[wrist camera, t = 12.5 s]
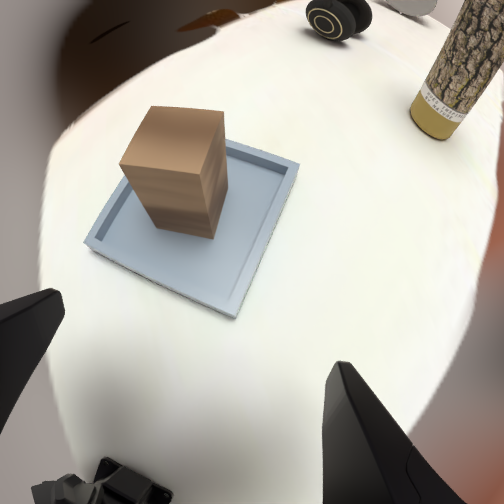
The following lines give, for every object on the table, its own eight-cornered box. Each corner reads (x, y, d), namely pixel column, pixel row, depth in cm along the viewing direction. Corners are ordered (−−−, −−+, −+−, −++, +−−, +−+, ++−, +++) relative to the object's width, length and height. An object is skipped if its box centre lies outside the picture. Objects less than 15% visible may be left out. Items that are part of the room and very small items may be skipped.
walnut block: (213, 239, 23) (199, 174, 15) (156, 228, 23) (118, 163, 15) (228, 187, 25) (223, 111, 16) (174, 179, 25) (151, 105, 17)
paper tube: (455, 145, 30) (546, 14, 6) (419, 137, 29) (509, -20, 6) (437, 111, 32) (508, -14, 8) (401, 101, 32) (467, -43, 8)
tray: (235, 318, 22) (235, 315, 20) (92, 250, 23) (83, 242, 21) (296, 175, 26) (299, 164, 24) (167, 134, 28) (164, 122, 26)
